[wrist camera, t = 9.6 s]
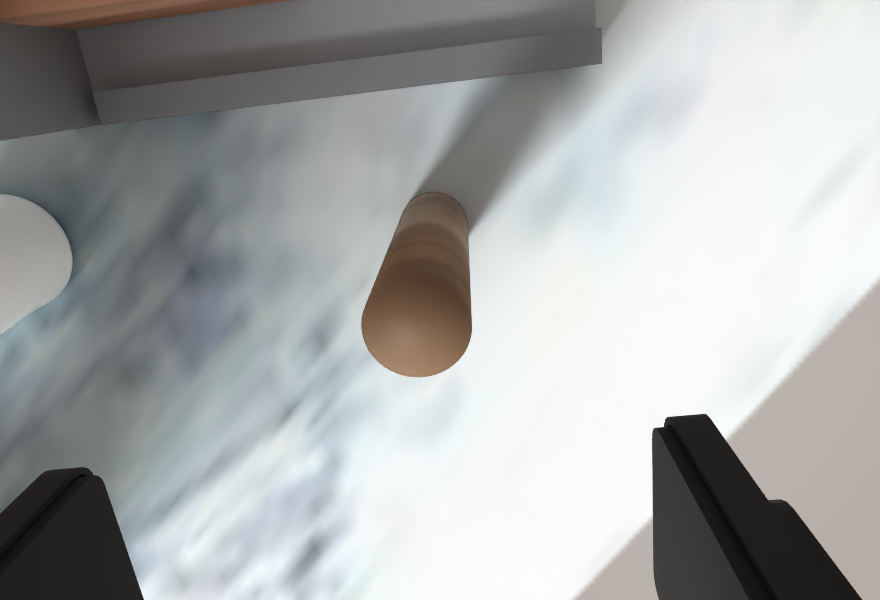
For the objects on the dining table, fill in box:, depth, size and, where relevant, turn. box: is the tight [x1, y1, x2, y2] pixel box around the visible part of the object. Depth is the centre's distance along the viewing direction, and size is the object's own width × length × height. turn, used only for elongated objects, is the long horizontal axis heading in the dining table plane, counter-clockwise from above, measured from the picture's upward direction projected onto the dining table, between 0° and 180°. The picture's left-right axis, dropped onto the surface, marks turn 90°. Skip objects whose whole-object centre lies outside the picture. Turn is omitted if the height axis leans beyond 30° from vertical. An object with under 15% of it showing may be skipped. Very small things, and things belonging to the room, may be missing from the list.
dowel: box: [361, 192, 472, 377], centre depth 23 cm, size 3×3×12 cm
